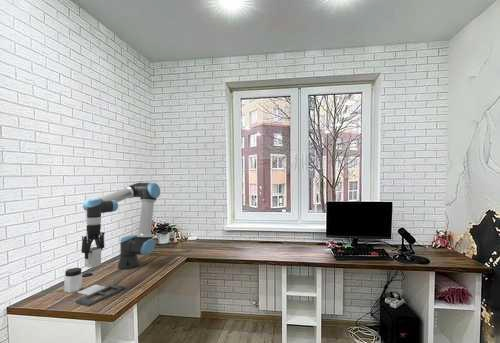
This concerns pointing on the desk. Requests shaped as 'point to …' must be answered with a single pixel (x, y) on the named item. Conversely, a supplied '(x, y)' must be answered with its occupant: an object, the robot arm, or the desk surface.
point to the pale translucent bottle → (94, 257)
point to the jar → (72, 280)
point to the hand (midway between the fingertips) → (92, 262)
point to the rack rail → (89, 302)
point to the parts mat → (91, 290)
